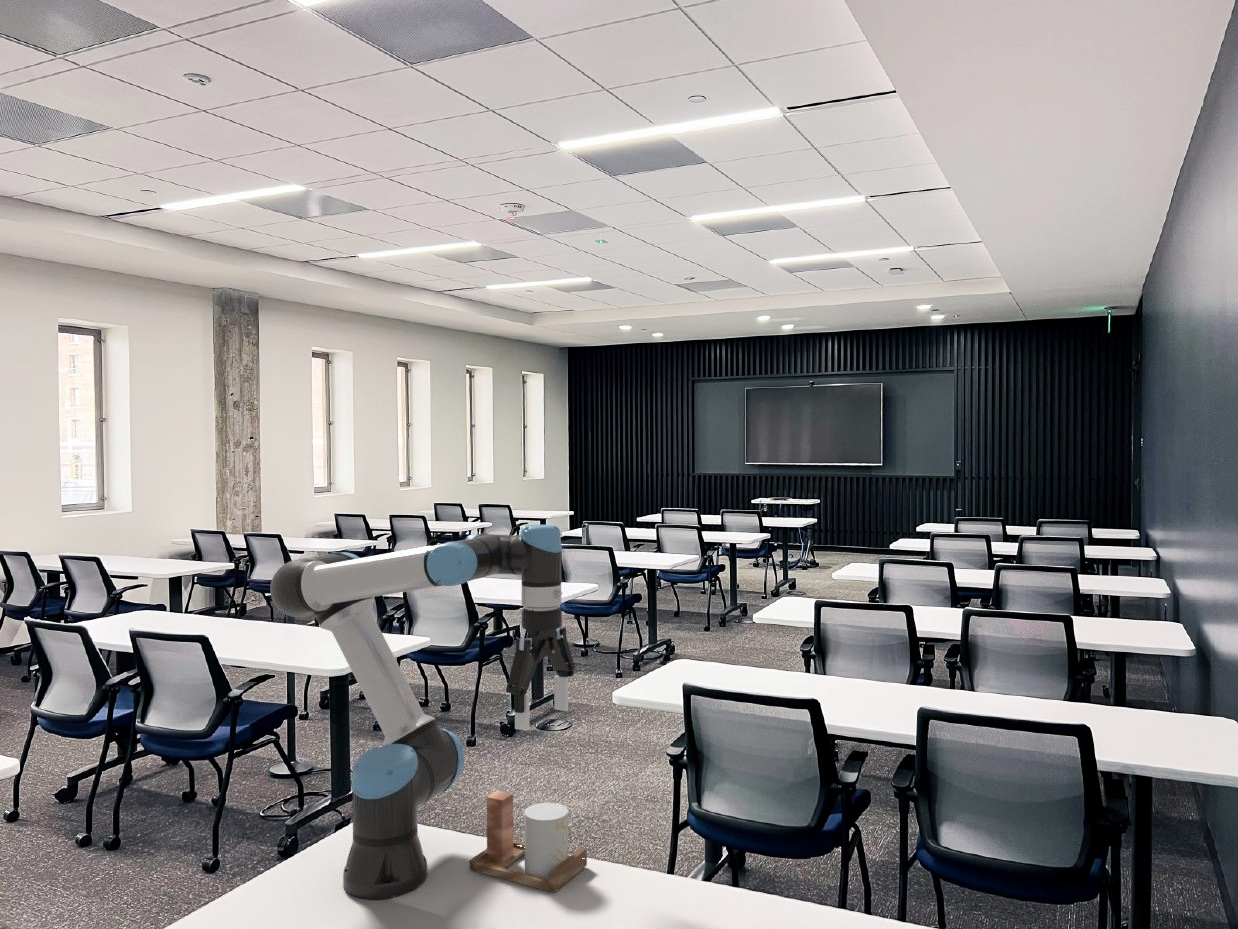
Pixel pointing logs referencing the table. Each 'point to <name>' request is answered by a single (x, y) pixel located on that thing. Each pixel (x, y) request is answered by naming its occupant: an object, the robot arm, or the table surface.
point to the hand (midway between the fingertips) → (542, 719)
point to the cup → (545, 838)
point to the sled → (517, 849)
